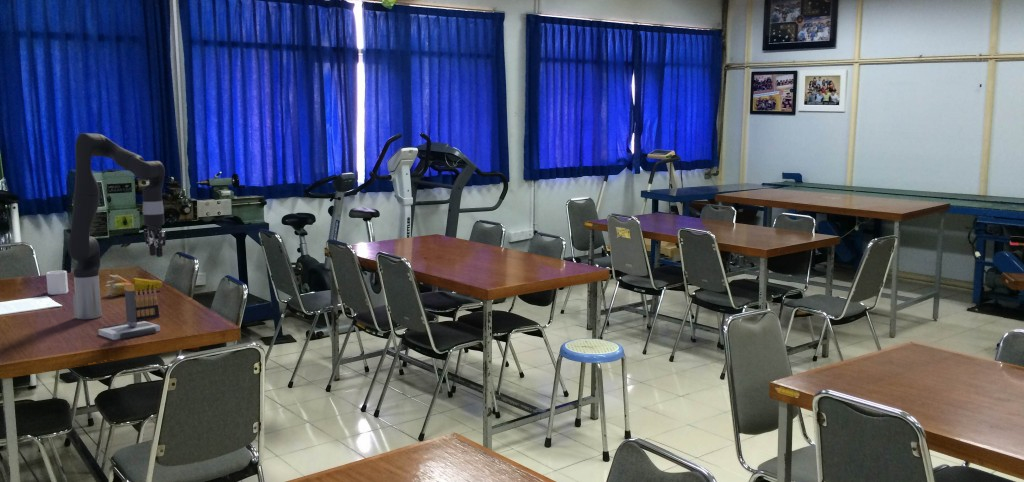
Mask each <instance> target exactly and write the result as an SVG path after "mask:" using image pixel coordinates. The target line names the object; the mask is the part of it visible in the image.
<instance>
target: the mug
mask: <svg viewBox="0 0 1024 482" xmlns="http://www.w3.org/2000/svg"><path fill="white" fill-rule="evenodd" d="M45 274H46V275H45V276H46V287H47V295H54V296H56V295H62V294H68V293H69V284H68V283H69V282H68V271H67V270H63V269H62V270H52V271H51V270H50V271H47V272H46V273H45Z"/></svg>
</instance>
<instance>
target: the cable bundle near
mask: <svg viewBox="0 0 1024 482" xmlns="http://www.w3.org/2000/svg"><path fill="white" fill-rule="evenodd" d="M156 332H157V331H156V329H155V327H152V328H147V329H142V330H137V331H131V332H126V333H122V334H121V335H120V337H121V339H122V340H127V339H131V338H135V337H141V336H146V335H151V334H156Z"/></svg>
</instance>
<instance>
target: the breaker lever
mask: <svg viewBox="0 0 1024 482" xmlns="http://www.w3.org/2000/svg"><path fill="white" fill-rule="evenodd" d="M124 290H125V294H124V298H125V299H124V301H125V312H126V315H125V317H126V323H127V325H128V326H131V327H136V326H137V322H138V321H137V320H136V308H135V293H134V291H135V288H134V284H131V283H125V284H124Z"/></svg>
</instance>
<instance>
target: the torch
mask: <svg viewBox="0 0 1024 482" xmlns="http://www.w3.org/2000/svg"><path fill="white" fill-rule="evenodd" d="M109 276H110V277H111V278H113V279H114V280H113V279H112V280H109V281H107V282H105V287H110V289H108V291H107V292H106V294H108V295H109V294H110V296H109V297H110V298H111V297H117V296H120V295H121V296H122V295H125V290H124V284H125V283H131V284H134V288H135V291H134V293H135V292H136V290H137V292H138V294H140V290H142V292H144V291H145V289H146V291H147V292H149V289H151V291H153V290H154V288H155V290H158V289H160V288H162V287H163V281H160V280H158V279H157V280H155V279H145V278H140V277H139V278H138V277H132V279H131V280H128V279H126V278H124V277H123V276H120V275H118V274H109Z"/></svg>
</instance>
